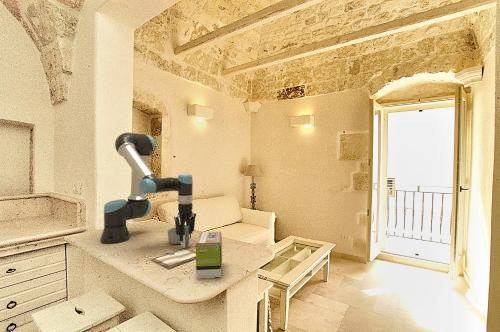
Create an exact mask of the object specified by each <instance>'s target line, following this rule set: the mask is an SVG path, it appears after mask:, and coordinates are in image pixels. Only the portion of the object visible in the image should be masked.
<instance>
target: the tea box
mask: <svg viewBox="0 0 500 332" xmlns="http://www.w3.org/2000/svg"><path fill="white" fill-rule="evenodd" d="M222 237H223V236H222V231H209V232H208V231H205V232H204V231H203V232H200V233H199V235H198V238H197V240H196V242H195V252H196V259H195V278H196V279H197V280H198V279H199V280H202V279H201V278H206V279H216V278H215V277H220V278H221V277H222V267H223V266H222V265H223V253H222V252H223V250H222V249H223V248H222V247H223V242H222V241H223V240H222Z"/></svg>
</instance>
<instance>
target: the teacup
mask: <svg viewBox="0 0 500 332" xmlns="http://www.w3.org/2000/svg"><path fill="white" fill-rule="evenodd" d="M167 238H168V239H167V240H168V242H169V243H171V244H172V245H181V241H180V235H177V234H176V227H175V226H174V227H171V228H169V229H167Z"/></svg>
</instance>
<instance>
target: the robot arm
mask: <svg viewBox="0 0 500 332" xmlns="http://www.w3.org/2000/svg"><path fill="white" fill-rule="evenodd" d="M114 142H115V143H114V147H115V150H116V152H117V153H118V155H119V156H121V157H122V158H123V159H124V160H125V161H126V163H127V164H128V166H129V167H130V169H131V182H130V183H131V184H130V185H131V186H130V195H129V196H128V197H127V200H126V199H122V198H121V199H115V200H110V201H108V202H106V203H104V206H103V231H102V233H101V236H100V243H101V244H107V245H109V244H110V245H111V244H119V243H123V242H126V241H128V240H130V232H129V229H128V227H127V221H130V220H135V219H141V218H144V217H147V216H148V215H149V214H150V212H151V209H152V203H151V201H150V199H149V198H148V196H147V195H148V194H151V195H152V194H158V193H166V192H177V203H178V204H177V210H178V212H177V215H175V216H173V220H174V225H175V226H174V228H175V227H176V234H177V235H180V241H181V243H180V248H182V249H184V248H185V235H184V227H185V225H188V226H189V246H188V247H191V239H192V234H193V232H195V225H196V218H197V213H194V212H193V209H194V208H193V207H194V206H193V184H194V181H193V175H192V174H189V173H188V174H186V173H185V174H183V173H181V174H178V175H177V177H172V176H171V177H170V176H168V177H163V178H162V177H157V176H156V175H155V174H154V172H153V171H152V170H151V169H150V167H149V165H148V163H149V158H150V157H151V155H152V154H153V153H154V152H155V150H156V141H155V139H154V138H153V136H151V135H150V134H144V133H137V132H136V133H135V132H134V133H133V132H123V133H122V134H120V135H118V136H117V138H116V139H115V141H114ZM185 249H186V248H185Z"/></svg>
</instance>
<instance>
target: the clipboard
mask: <svg viewBox="0 0 500 332" xmlns="http://www.w3.org/2000/svg"><path fill="white" fill-rule="evenodd" d="M194 260H195V261H196V251H193V250H191V249H187V248H182V249H179V250H175V251H170V250H168V251H166V252H165V254H163V255H160V256H157V257H154V258H150V261H151V262H152V263H155V264H156V265H159V266H161V267H163V268H165V269H167V270H171V269H174V268H177V267H178V266H182V265H184V264H187V263H189V262H192V261H194Z"/></svg>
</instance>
